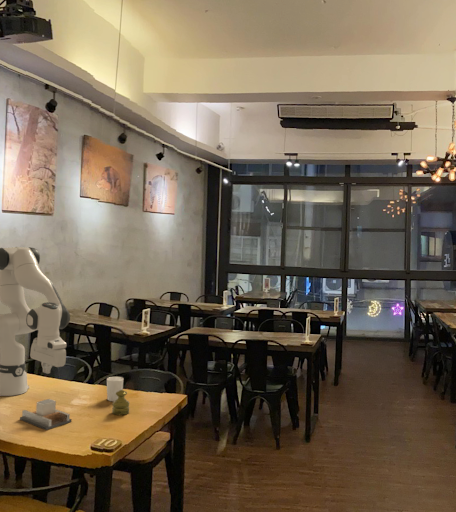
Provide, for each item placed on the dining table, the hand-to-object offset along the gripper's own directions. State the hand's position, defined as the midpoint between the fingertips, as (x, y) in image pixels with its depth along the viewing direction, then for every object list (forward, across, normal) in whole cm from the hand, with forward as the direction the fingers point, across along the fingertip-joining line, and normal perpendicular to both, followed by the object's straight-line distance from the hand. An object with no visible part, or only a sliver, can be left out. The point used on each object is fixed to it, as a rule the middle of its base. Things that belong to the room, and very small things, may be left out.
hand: (46, 372), depth 208 cm
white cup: (+18, +6, +34) cm, 39 cm away
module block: (+17, +6, -4) cm, 19 cm away
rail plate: (+18, +7, -4) cm, 20 cm away
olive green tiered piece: (+18, +22, +23) cm, 37 cm away
